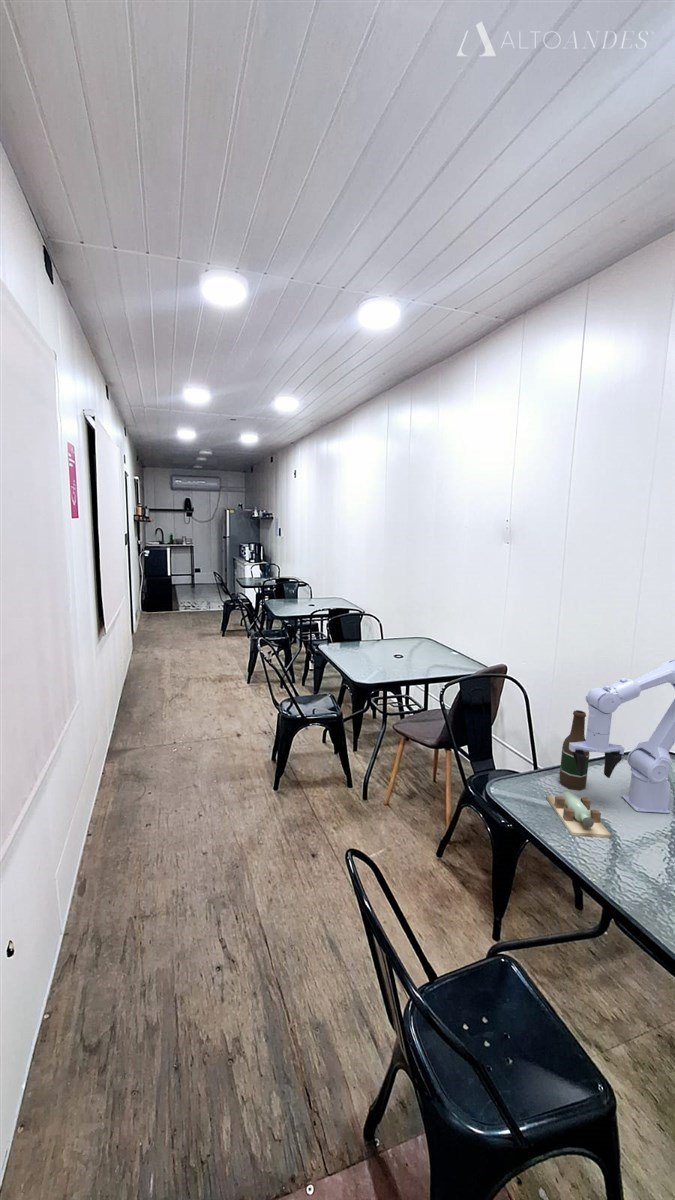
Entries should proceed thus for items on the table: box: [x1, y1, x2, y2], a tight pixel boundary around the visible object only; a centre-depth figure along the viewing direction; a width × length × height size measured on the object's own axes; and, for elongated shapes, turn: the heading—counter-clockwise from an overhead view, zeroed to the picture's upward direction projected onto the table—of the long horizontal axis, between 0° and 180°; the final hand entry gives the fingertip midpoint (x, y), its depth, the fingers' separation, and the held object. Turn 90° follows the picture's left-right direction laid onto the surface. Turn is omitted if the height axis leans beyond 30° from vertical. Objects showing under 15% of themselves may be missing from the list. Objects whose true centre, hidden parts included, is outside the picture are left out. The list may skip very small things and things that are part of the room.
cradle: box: [545, 794, 612, 839], centre depth 134 cm, size 10×18×4 cm, turn 177°
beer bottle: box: [559, 709, 590, 791], centre depth 150 cm, size 8×8×24 cm
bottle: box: [561, 790, 594, 828], centre depth 132 cm, size 4×12×4 cm, turn 177°
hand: (593, 775), depth 138 cm, fingers open, 7 cm apart
